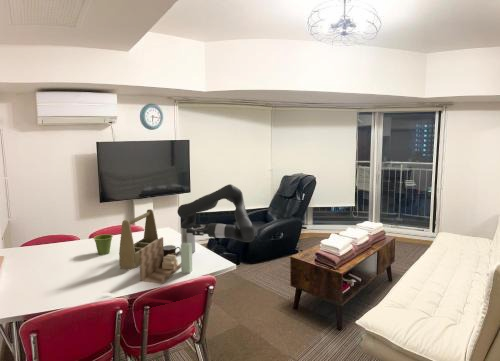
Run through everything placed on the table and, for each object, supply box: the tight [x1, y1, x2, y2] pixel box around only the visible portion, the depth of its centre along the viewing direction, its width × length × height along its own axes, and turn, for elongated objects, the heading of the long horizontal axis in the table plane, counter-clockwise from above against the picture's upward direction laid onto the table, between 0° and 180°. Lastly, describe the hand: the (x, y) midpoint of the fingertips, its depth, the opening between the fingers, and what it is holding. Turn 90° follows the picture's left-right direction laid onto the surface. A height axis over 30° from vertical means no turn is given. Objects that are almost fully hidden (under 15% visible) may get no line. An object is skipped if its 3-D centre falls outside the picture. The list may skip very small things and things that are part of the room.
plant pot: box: [93, 233, 114, 256], centre depth 216 cm, size 12×12×11 cm
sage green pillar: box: [180, 243, 193, 274], centre depth 183 cm, size 4×5×17 cm
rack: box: [139, 236, 181, 284], centre depth 181 cm, size 24×13×18 cm, turn 167°
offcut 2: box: [162, 259, 179, 269], centre depth 191 cm, size 6×7×4 cm
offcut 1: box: [163, 254, 177, 263], centre depth 190 cm, size 5×6×3 cm
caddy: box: [118, 209, 159, 270], centre depth 202 cm, size 29×11×30 cm, turn 168°
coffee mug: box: [163, 244, 181, 257], centre depth 200 cm, size 12×9×10 cm
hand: (189, 228), depth 176 cm, fingers open, 8 cm apart
